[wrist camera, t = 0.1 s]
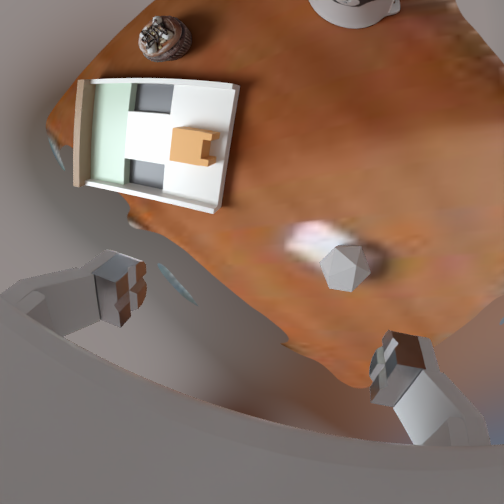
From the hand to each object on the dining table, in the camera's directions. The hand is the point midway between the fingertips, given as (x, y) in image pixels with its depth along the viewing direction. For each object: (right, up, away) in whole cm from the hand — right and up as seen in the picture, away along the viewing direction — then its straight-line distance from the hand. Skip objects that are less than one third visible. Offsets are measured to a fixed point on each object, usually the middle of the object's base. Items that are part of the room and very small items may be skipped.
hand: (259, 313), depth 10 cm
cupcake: (-15, +43, +39) cm, 60 cm away
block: (-11, +22, +44) cm, 50 cm away
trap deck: (-21, +26, +48) cm, 58 cm away
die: (+18, +1, +50) cm, 53 cm away
